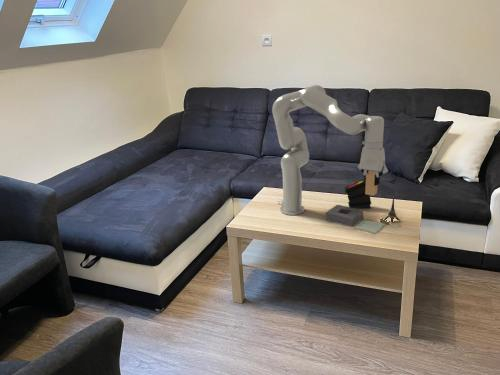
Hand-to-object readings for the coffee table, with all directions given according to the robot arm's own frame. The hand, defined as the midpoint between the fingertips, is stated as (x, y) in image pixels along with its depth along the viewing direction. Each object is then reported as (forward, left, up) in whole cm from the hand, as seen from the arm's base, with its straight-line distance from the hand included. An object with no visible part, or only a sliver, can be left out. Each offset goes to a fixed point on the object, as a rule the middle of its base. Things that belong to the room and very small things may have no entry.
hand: (371, 183), depth 194 cm
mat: (0, 0, -22) cm, 22 cm away
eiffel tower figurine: (+5, +13, -22) cm, 27 cm away
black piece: (-15, +19, -22) cm, 32 cm away
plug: (0, 0, -5) cm, 5 cm away
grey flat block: (-14, +2, -22) cm, 26 cm away
